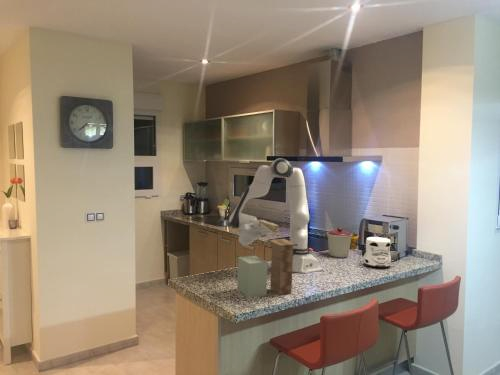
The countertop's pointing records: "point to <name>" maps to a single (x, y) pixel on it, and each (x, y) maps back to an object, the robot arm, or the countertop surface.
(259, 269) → the sage box
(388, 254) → the white piece
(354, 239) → the condiment
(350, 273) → the countertop surface
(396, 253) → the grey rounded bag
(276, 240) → the walnut stand
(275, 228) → the beech bar
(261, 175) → the robot arm
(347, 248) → the canister
